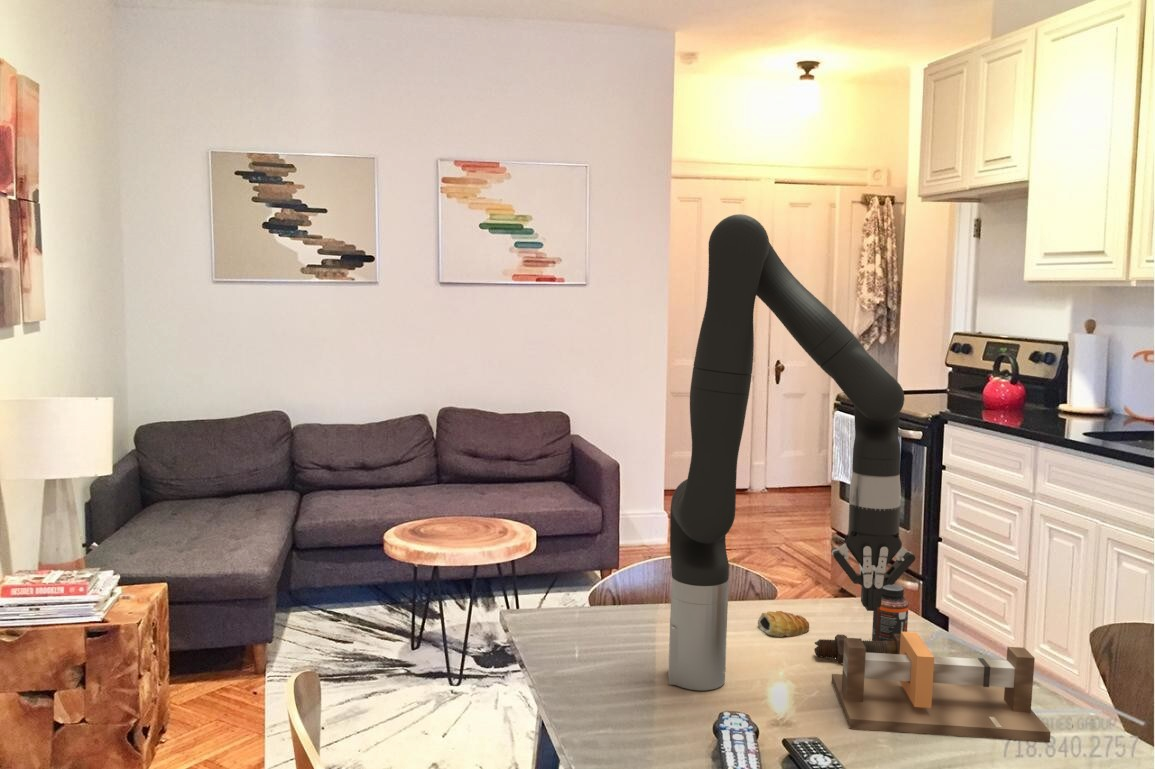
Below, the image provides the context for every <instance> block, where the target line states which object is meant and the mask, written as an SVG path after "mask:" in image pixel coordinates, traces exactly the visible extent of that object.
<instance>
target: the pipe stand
mask: <svg viewBox="0 0 1155 769" xmlns="http://www.w3.org/2000/svg"><path fill="white" fill-rule="evenodd" d="M862 641H863V640H862V638H859V637H858V638H855V637H847V638H844V651H843V663H842V670H841V671H842V673H831V681H830V682H831V685H832V688H833V690H834V693H835V695H836V697H837V700H838V703H839V706H840V708H841V710H842V712H843V715H844V717H845V719H846V720H845V721H846V723H847V725H848V727H849V729H851V730H863V731H879V732H880V731H881V732H894V733H908V734H909V733H911V734H923V733H926V734H925V735H936V736H937V735H940V736H954V737H955V736H956V737H957V736H958V737H969V738H972V737H973V738H984V739H985V738H986V739H1001V740H1013V741H1014V740H1016V741H1027V742H1028V741H1029V742H1047V743H1050V742H1051V731H1050V729H1048V727H1047V726H1046V725H1045V724H1044V722H1043V721H1042V719H1040V718H1039V717H1038V716H1037V714H1036V713H1035V712H1034V710H1032V701H1033V700H1032V699H1033V698H1032V697H1033V687H1034V686H1033V685H1034V672H1035V657H1034V656H1033V654H1031V653H1030V652H1029V651H1028V650H1027V649H1026V648H1025V647H1020V646H1019V647H1018V646H1007V647H1006V648H1007V649H1006V650H1007V651H1006V660H1002V659H988V658H985V659H984V657H981V658H980V657H977V658H972V657H971V658H969V657H952V656H936V655H935V656H934V655H933V656H934V671H933V688H932V704H931V708H924V707H914V705H913V703H912V702H911V700H910V698H909V696H908V695H907V693H906V691H905V690H904V688H903V686H902V684H901V683H900V681H910V676H911V660H910V658H909V657H908V655H902V654H885V653H867V652H866V648H865V646H864V644H863V642H862Z"/></svg>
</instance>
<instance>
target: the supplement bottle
mask: <svg viewBox="0 0 1155 769" xmlns="http://www.w3.org/2000/svg"><path fill="white" fill-rule="evenodd" d="M904 590H905V589H904V587H903V586H901V585H899V584H895V583H894V584H893V585H886V586H884V587H883V588H882V598H881V606H880V608H879V607H877V611H872V612H873V613H872V632H871V633H872V634H871V641H892V639H893V634H901V631H902V632H908V623H909V622H908V621H909V602H908V600H907V599H905V596H904V595H905V592H904Z"/></svg>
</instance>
